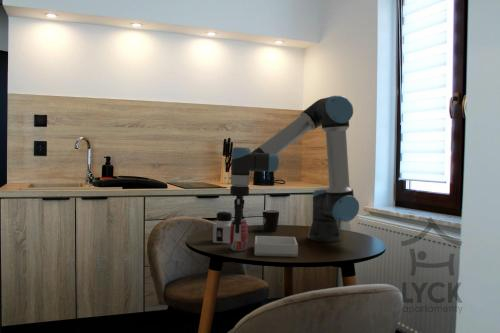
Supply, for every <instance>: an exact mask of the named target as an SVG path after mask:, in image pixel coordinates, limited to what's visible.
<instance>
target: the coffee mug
mask: <svg viewBox="0 0 500 333" xmlns="http://www.w3.org/2000/svg"><path fill="white" fill-rule="evenodd" d="M261 211H262V221H263V230H264V232H268V233H276V232H278V225H279V218H280V210H276V209H275V210H272V209H264V210H261Z"/></svg>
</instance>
